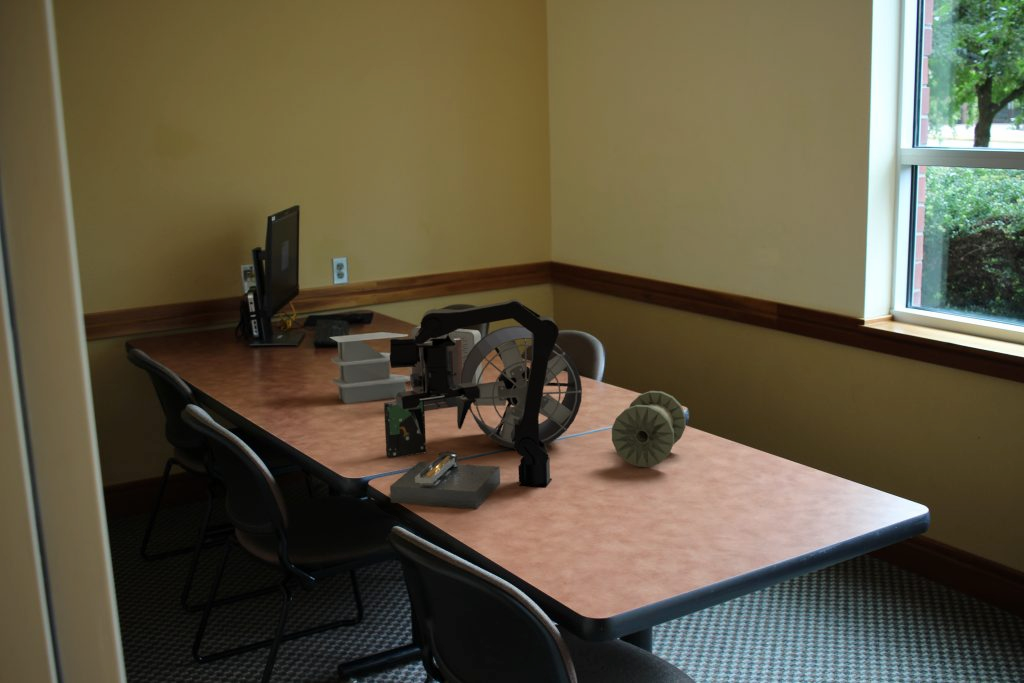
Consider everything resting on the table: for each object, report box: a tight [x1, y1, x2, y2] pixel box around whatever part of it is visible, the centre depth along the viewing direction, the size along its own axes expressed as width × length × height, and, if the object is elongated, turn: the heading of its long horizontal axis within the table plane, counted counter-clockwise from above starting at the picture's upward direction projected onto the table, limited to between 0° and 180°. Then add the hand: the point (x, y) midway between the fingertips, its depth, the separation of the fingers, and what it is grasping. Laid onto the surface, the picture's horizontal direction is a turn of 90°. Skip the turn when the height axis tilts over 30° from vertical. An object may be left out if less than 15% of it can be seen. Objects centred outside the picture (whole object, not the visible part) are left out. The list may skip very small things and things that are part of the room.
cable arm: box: [415, 450, 459, 484], centre depth 226 cm, size 4×18×3 cm, turn 164°
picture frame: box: [409, 338, 462, 412], centre depth 298 cm, size 16×2×22 cm, turn 119°
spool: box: [611, 390, 687, 468], centre depth 248 cm, size 16×15×15 cm
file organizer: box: [329, 331, 410, 405], centre depth 311 cm, size 26×35×22 cm
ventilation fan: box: [461, 325, 583, 450], centre depth 263 cm, size 30×18×30 cm, turn 99°
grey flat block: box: [389, 461, 501, 510], centre depth 226 cm, size 20×18×4 cm
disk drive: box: [383, 400, 427, 459], centre depth 254 cm, size 10×3×15 cm, turn 119°
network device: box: [411, 325, 483, 385], centre depth 330 cm, size 26×9×20 cm, turn 58°
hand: (440, 431), depth 229 cm, fingers open, 9 cm apart
